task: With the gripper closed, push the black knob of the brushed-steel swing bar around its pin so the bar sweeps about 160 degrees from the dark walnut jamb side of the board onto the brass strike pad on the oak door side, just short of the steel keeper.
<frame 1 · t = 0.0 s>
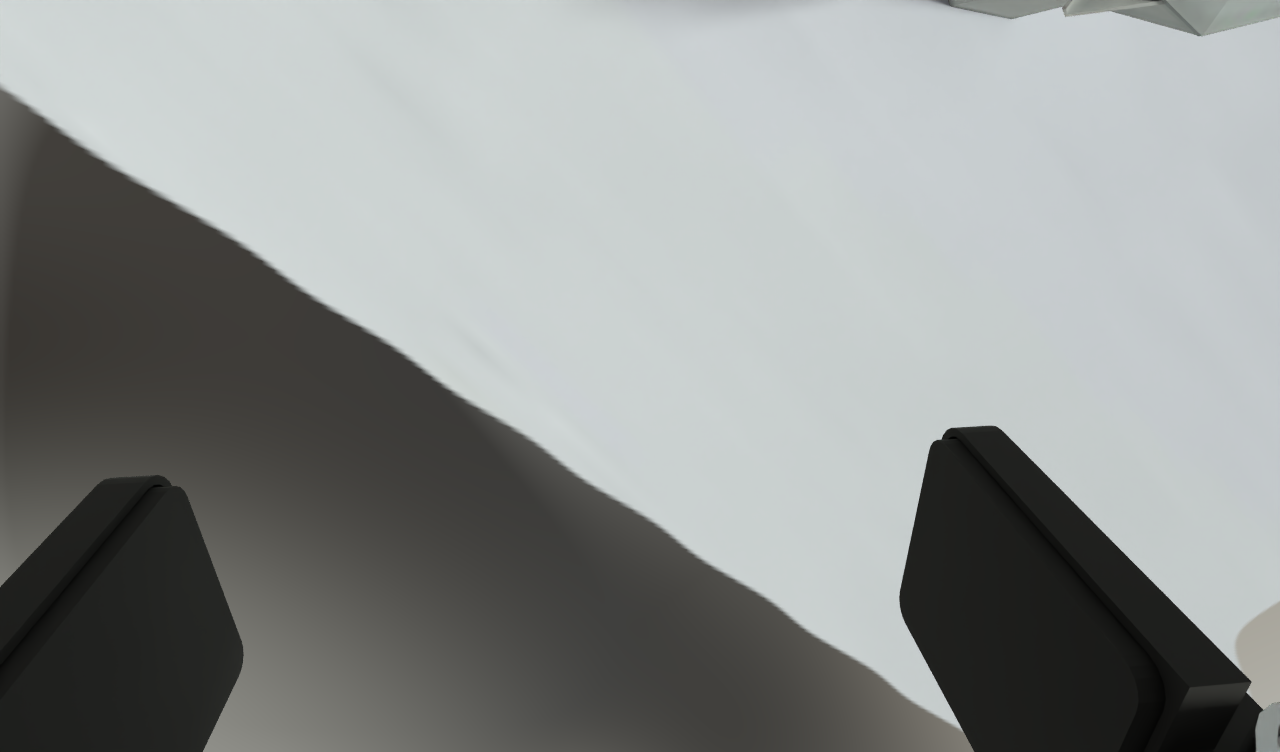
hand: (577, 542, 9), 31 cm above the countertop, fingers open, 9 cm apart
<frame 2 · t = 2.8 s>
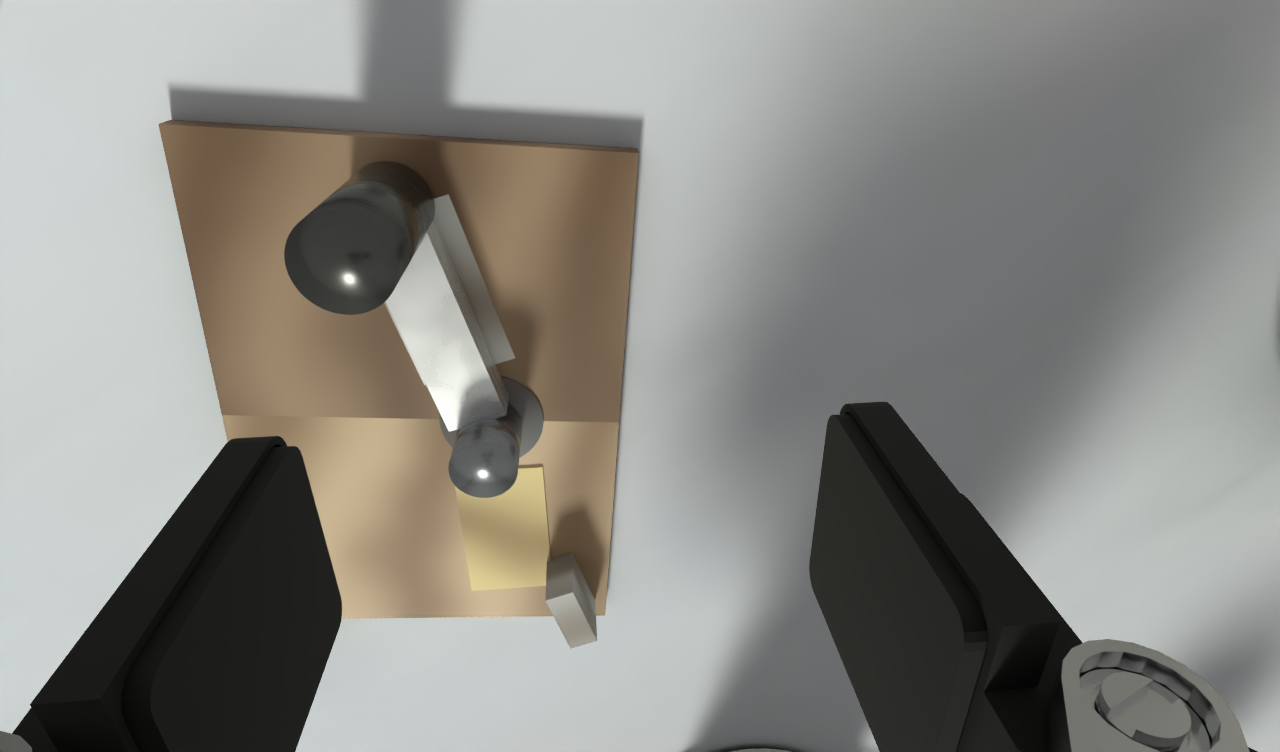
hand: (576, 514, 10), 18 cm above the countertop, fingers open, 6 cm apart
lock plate: (429, 408, 29), on the countertop
swing bar: (430, 358, 23), point 4 cm above the countertop, hinge at 0.0°
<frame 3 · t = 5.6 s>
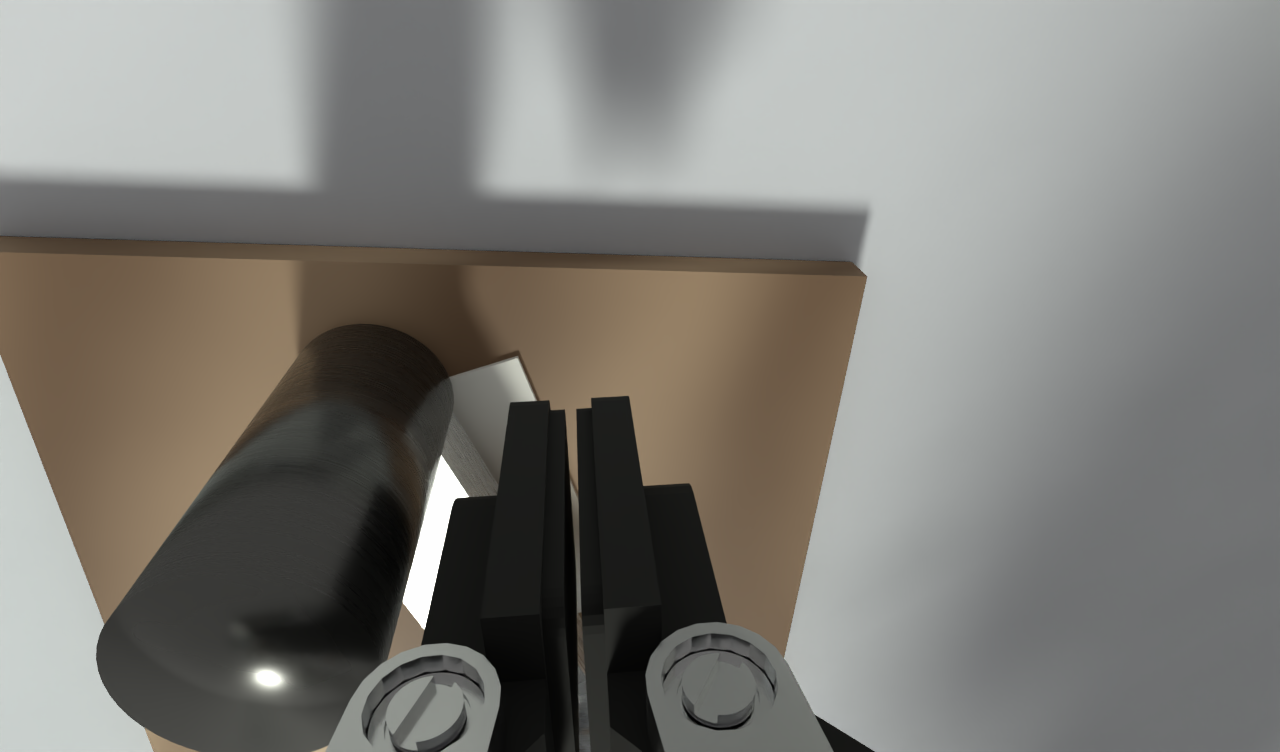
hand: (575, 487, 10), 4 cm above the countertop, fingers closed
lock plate: (475, 659, 18), on the countertop
swing bar: (471, 687, 12), point 4 cm above the countertop, hinge at 5.1°, touching gripper
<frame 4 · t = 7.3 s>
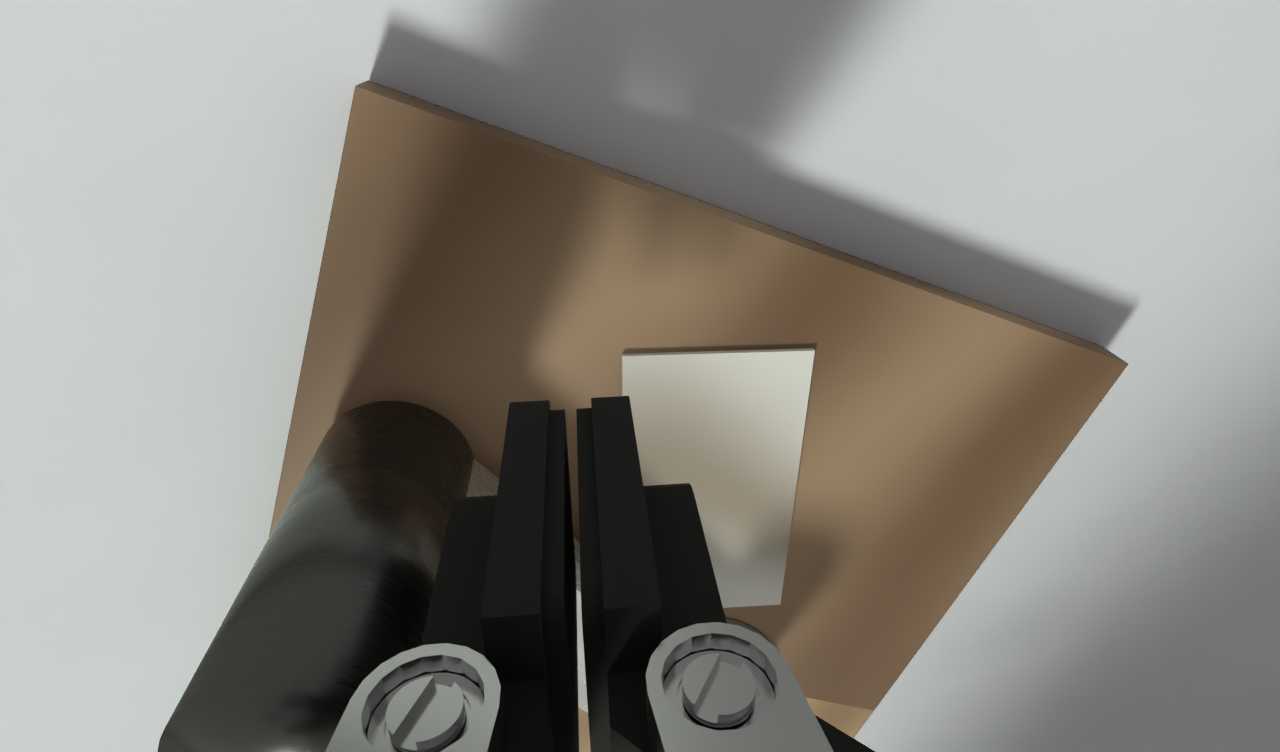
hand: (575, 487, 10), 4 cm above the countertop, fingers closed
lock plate: (597, 631, 18), on the countertop
swing bar: (562, 712, 13), point 4 cm above the countertop, hinge at 41.9°, touching gripper
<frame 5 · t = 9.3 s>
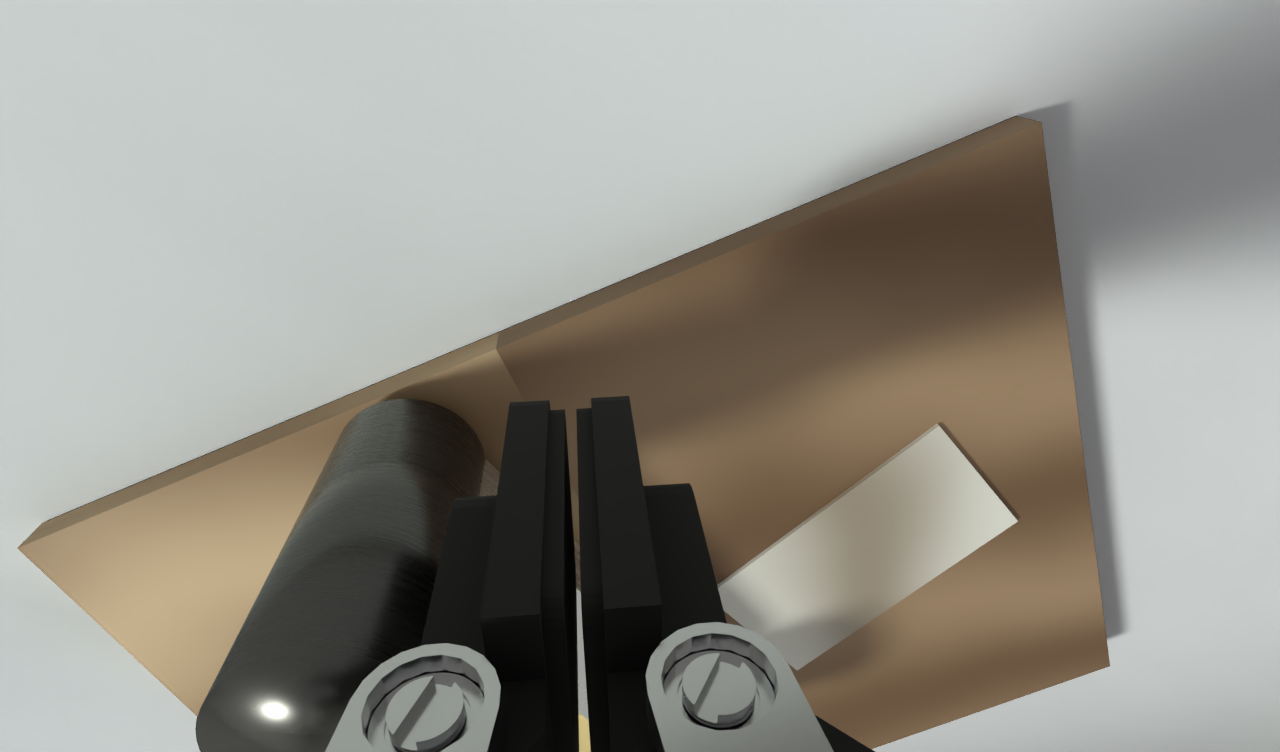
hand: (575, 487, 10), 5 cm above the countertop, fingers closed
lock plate: (640, 591, 18), on the countertop
swing bar: (560, 707, 13), point 4 cm above the countertop, hinge at 85.7°, touching gripper
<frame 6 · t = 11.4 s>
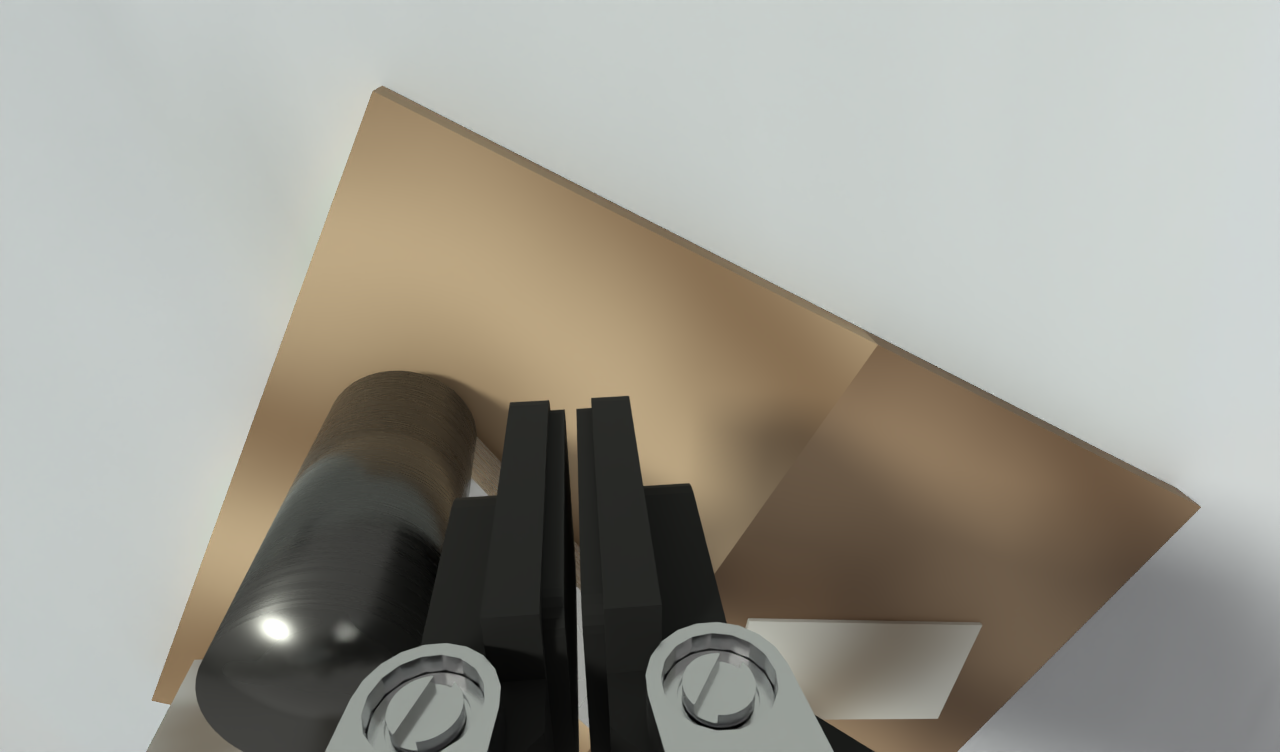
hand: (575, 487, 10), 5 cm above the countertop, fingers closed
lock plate: (689, 577, 18), on the countertop
swing bar: (538, 683, 13), point 4 cm above the countertop, hinge at 131.0°, touching gripper
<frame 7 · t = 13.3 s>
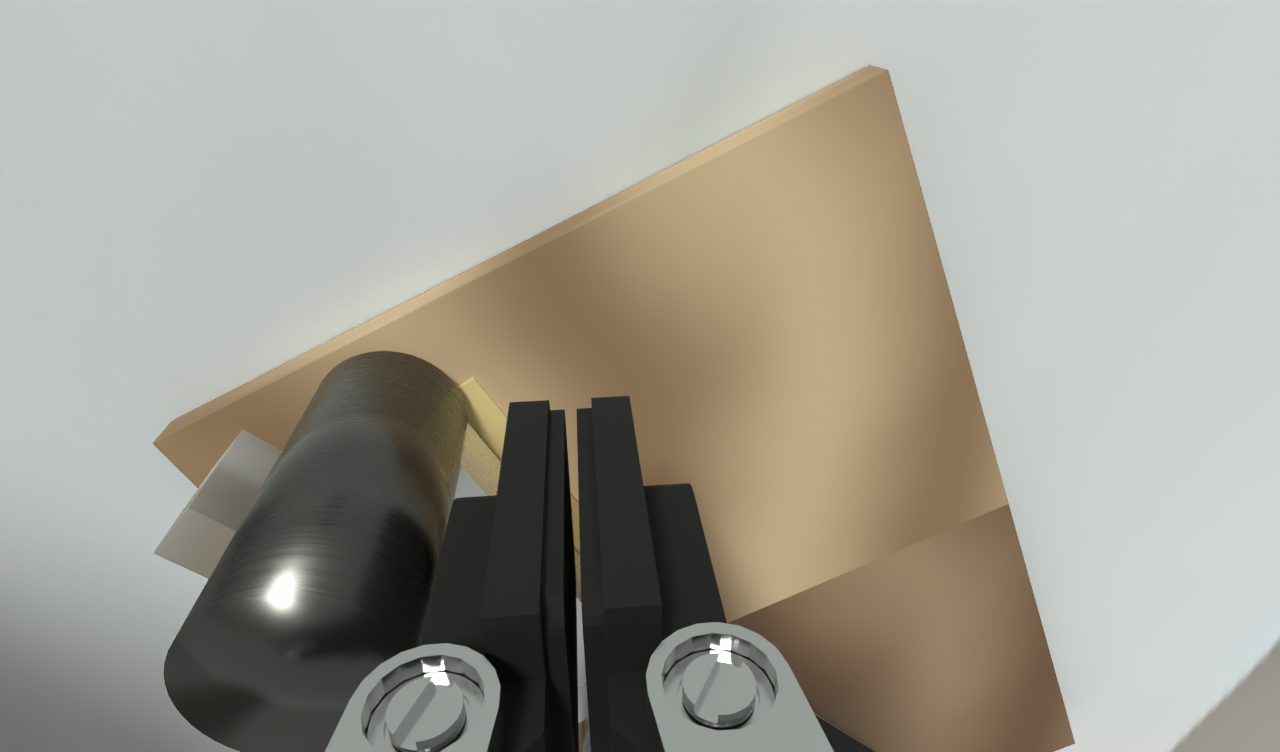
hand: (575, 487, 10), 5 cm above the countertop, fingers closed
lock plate: (711, 603, 19), on the countertop
swing bar: (518, 677, 13), point 4 cm above the countertop, hinge at 163.9°, touching gripper
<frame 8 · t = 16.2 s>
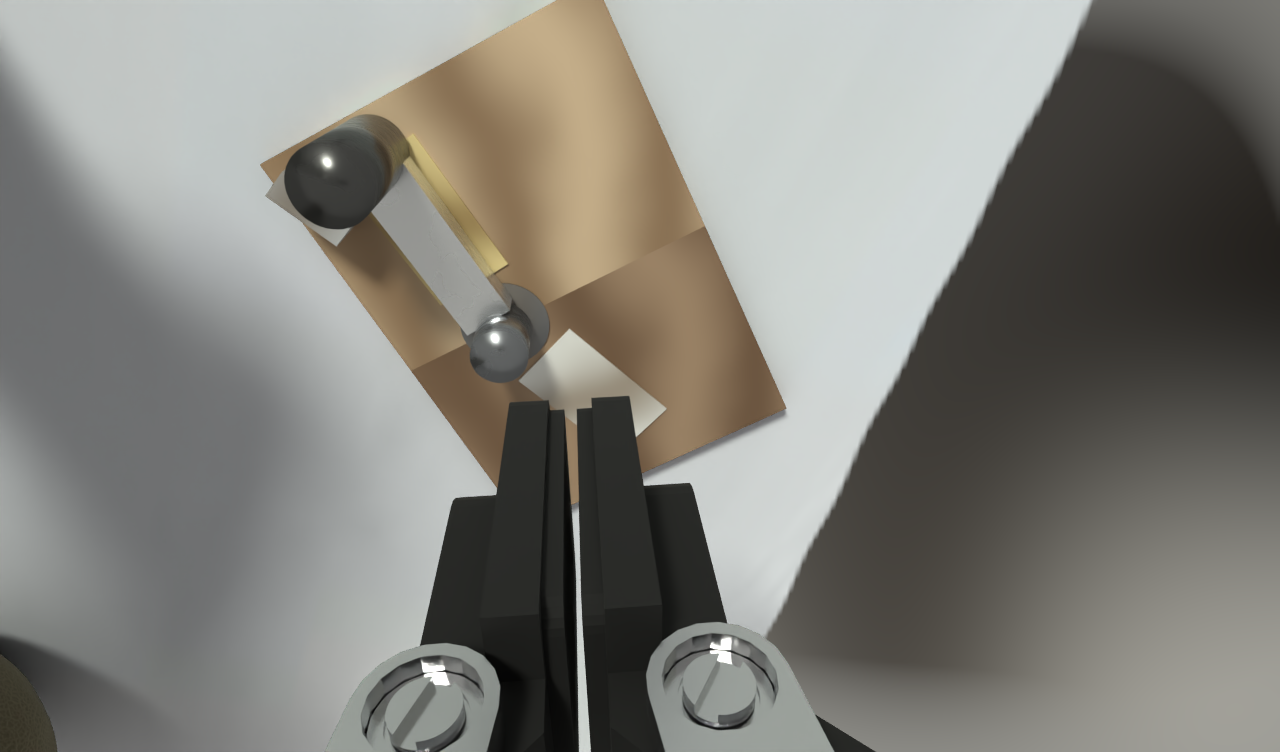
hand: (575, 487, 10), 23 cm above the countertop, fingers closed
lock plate: (553, 294, 34), on the countertop
swing bar: (430, 267, 28), point 4 cm above the countertop, hinge at 164.0°
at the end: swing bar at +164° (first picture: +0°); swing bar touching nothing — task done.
